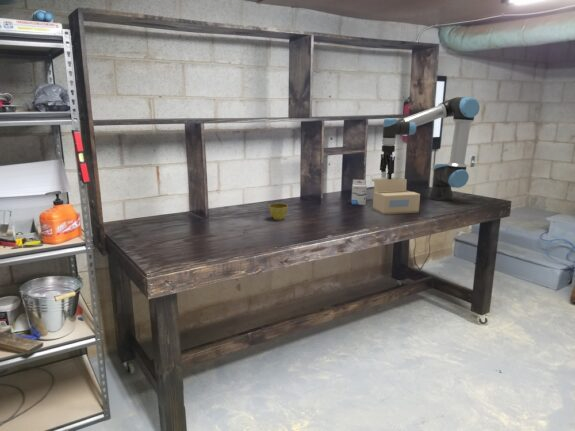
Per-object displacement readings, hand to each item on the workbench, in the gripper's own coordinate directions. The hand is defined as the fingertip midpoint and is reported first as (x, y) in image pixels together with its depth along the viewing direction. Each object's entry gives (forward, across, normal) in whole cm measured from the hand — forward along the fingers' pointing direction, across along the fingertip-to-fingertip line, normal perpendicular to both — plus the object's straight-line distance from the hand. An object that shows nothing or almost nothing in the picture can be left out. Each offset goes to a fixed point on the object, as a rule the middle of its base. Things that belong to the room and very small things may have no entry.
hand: (385, 183), depth 266 cm
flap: (0, +6, 0) cm, 6 cm away
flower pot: (+14, +17, -71) cm, 74 cm away
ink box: (+14, -7, -14) cm, 21 cm away
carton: (+14, +14, 0) cm, 19 cm away
